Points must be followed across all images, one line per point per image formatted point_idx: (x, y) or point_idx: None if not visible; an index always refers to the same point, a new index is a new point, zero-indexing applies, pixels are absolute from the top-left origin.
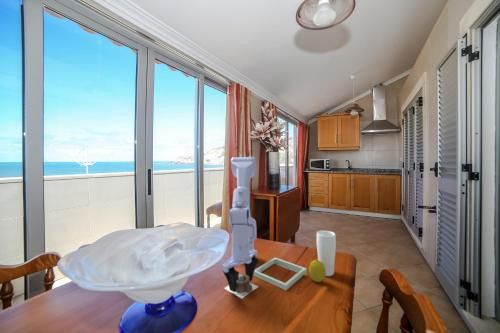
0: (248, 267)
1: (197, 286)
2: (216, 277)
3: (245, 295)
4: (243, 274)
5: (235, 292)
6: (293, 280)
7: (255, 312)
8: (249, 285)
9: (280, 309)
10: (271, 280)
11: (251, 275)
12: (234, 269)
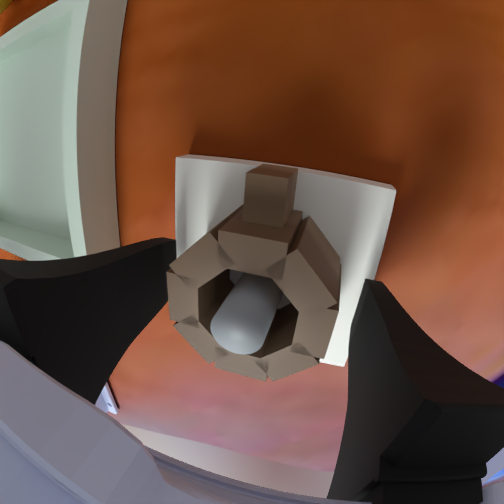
0: (105, 325)
1: None
2: (254, 425)
3: (344, 183)
4: (182, 324)
5: (350, 279)
6: (38, 15)
7: (425, 38)
8: (264, 193)
9: None
10: (84, 103)
11: (143, 253)
12: (395, 477)
